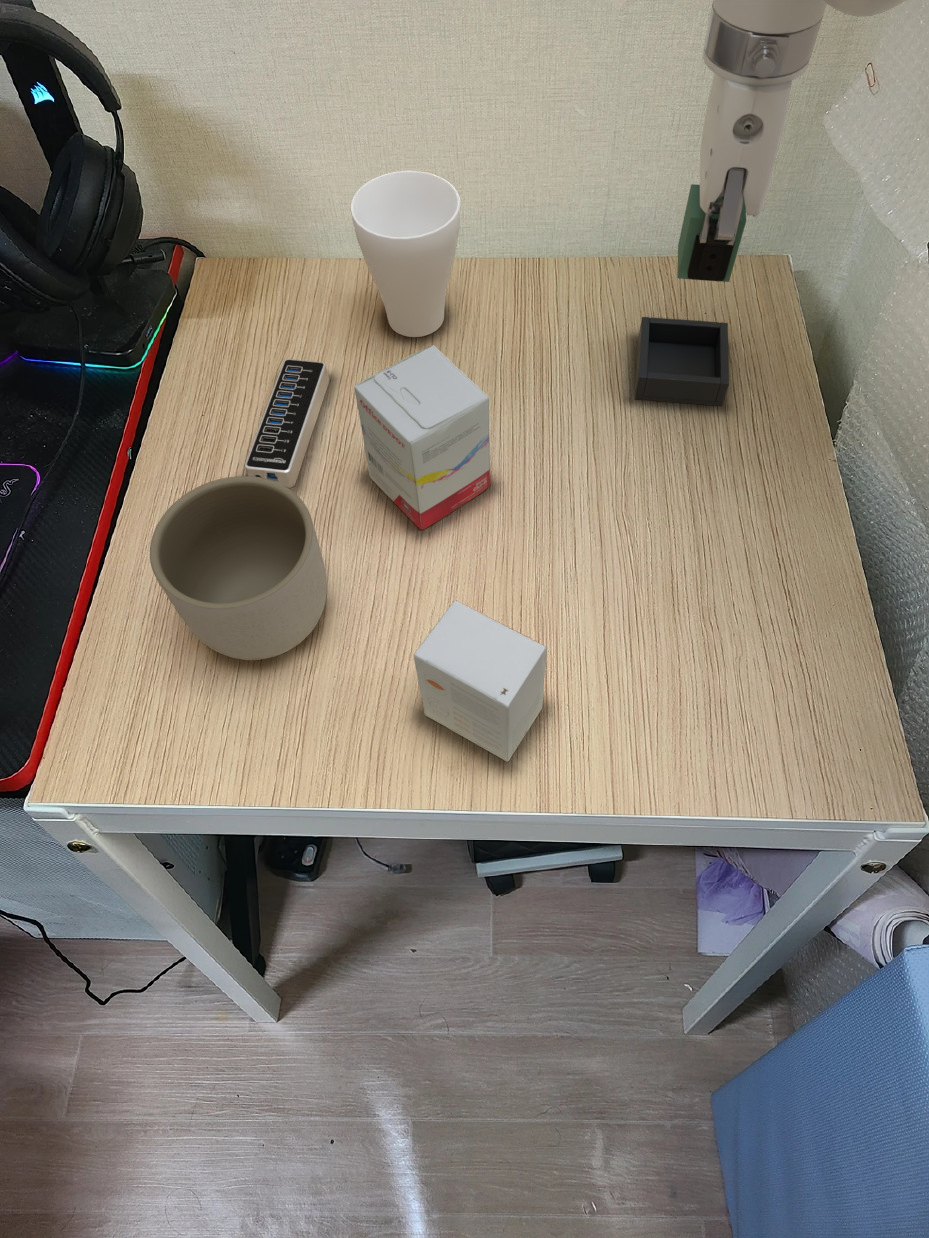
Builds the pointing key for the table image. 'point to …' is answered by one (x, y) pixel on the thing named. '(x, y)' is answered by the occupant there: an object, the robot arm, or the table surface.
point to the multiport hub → (288, 422)
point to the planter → (242, 566)
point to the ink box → (425, 435)
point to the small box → (481, 679)
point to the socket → (682, 361)
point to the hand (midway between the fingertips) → (705, 256)
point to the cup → (409, 245)
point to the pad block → (693, 228)
